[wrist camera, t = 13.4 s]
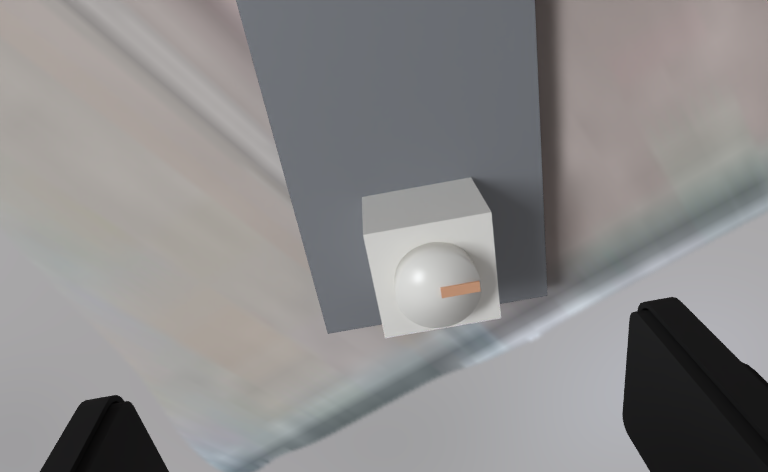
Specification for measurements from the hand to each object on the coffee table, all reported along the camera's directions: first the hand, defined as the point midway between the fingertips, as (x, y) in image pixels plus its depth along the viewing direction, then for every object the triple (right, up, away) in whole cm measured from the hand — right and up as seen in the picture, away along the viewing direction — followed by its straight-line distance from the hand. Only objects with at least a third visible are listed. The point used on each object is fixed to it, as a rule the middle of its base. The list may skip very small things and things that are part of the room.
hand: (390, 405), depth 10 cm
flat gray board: (+1, +8, +22) cm, 24 cm away
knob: (+2, +3, +23) cm, 23 cm away
